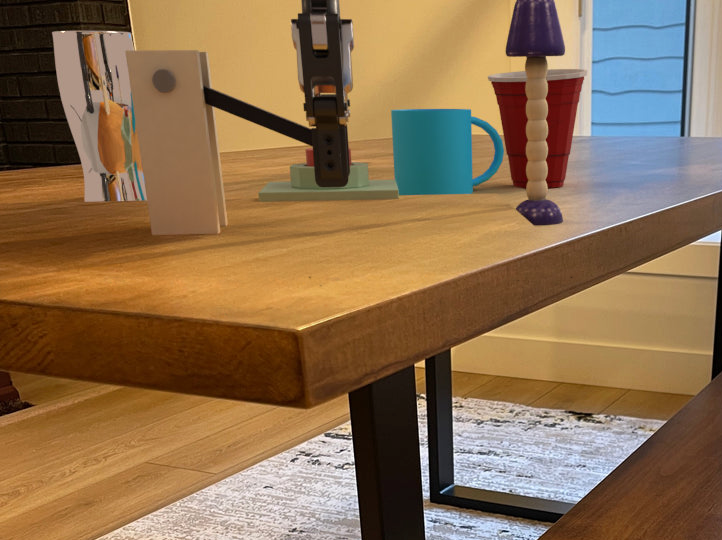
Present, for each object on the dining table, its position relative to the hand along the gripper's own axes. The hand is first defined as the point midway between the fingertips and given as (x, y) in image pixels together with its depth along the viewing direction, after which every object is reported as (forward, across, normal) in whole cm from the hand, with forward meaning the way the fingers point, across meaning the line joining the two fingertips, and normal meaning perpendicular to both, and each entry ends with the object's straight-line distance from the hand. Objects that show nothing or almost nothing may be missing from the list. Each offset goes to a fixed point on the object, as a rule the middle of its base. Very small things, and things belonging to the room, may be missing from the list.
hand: (333, 181), depth 70 cm
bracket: (+4, 0, -10) cm, 11 cm away
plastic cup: (+5, -41, +21) cm, 46 cm away
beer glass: (+5, -27, -21) cm, 35 cm away
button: (+1, -22, -1) cm, 22 cm away
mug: (+5, -36, +11) cm, 38 cm away
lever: (-3, 0, -6) cm, 7 cm away
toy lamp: (+5, -10, +16) cm, 19 cm away
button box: (+4, -22, -1) cm, 22 cm away
